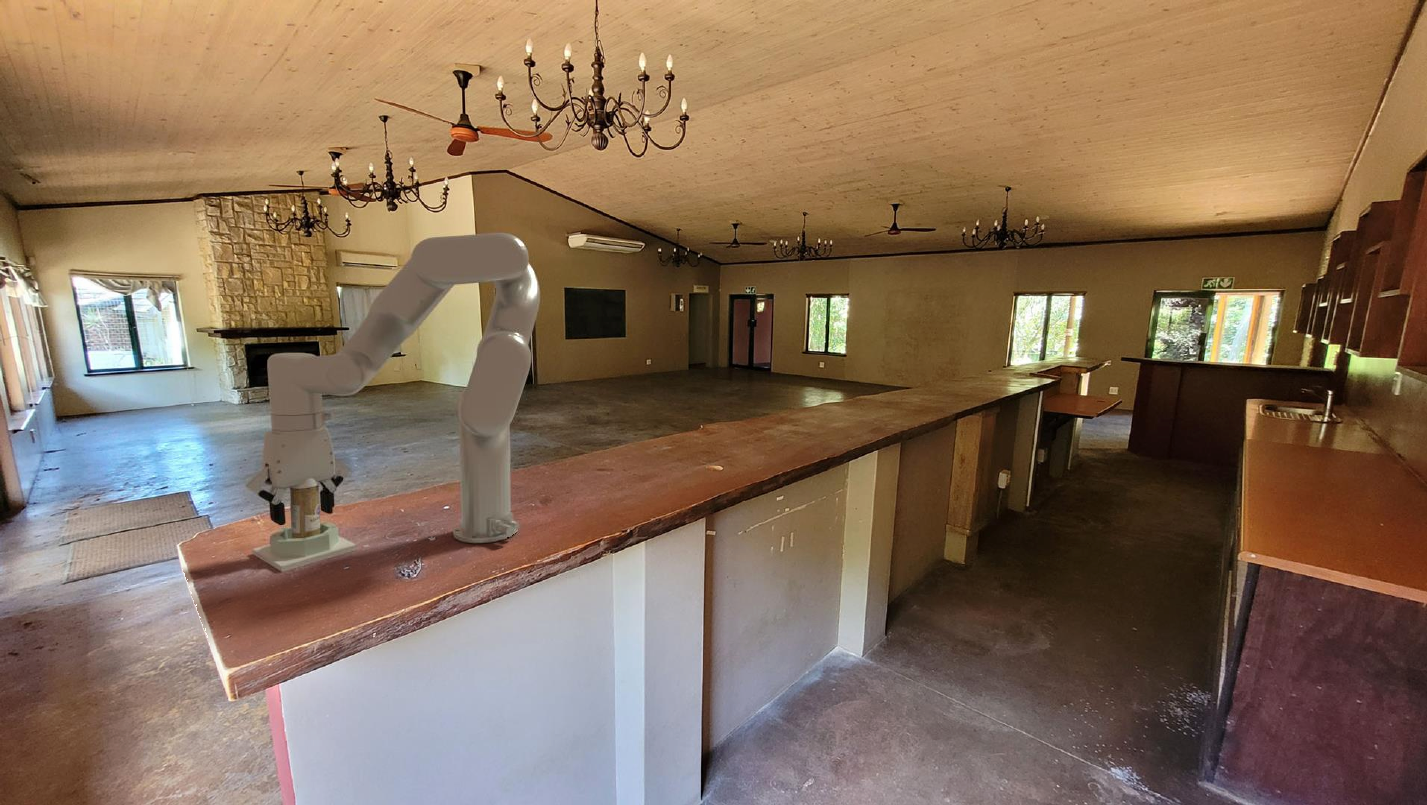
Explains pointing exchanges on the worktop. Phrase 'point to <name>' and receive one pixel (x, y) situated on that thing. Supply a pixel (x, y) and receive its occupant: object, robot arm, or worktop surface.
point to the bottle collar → (303, 547)
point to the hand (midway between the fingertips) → (303, 516)
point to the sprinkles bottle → (305, 509)
